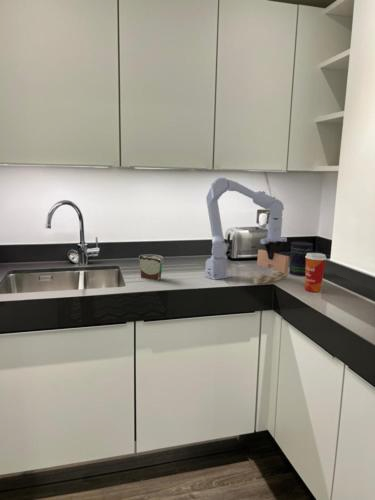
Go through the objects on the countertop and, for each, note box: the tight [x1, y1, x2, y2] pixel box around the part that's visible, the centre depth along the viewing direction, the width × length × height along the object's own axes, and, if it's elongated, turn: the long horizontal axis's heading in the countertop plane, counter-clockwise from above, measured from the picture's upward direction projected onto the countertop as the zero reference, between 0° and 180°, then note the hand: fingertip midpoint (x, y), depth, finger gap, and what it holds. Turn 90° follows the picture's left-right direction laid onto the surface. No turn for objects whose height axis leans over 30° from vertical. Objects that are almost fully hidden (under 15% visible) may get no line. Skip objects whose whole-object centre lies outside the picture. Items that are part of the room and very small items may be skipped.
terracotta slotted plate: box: [256, 249, 290, 274], centre depth 164 cm, size 16×2×7 cm, turn 35°
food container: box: [138, 253, 165, 282], centre depth 164 cm, size 12×6×10 cm, turn 59°
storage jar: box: [288, 240, 314, 277], centre depth 179 cm, size 10×10×15 cm
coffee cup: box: [304, 252, 327, 294], centre depth 152 cm, size 8×8×15 cm
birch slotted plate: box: [252, 271, 289, 285], centre depth 166 cm, size 20×2×3 cm, turn 125°
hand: (272, 258), depth 164 cm, fingers closed on terracotta slotted plate, 2 cm apart
